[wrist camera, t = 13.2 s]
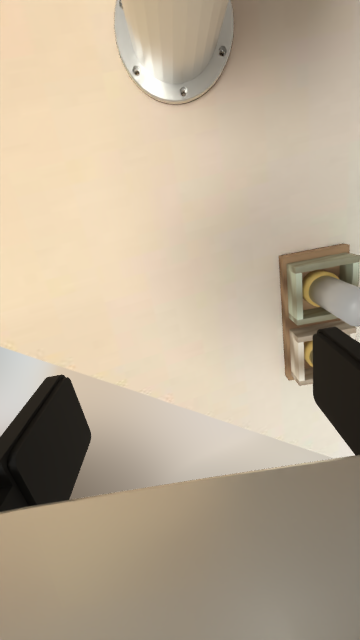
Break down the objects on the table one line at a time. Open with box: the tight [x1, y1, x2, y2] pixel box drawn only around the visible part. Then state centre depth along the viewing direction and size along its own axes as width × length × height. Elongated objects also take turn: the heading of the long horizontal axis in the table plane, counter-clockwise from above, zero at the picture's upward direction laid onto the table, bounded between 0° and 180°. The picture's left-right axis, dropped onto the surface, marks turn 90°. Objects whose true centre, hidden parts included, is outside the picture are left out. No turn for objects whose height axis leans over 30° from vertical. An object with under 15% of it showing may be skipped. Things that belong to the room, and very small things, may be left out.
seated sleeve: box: [302, 270, 360, 326], centre depth 34 cm, size 5×5×10 cm
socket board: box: [279, 244, 360, 386], centre depth 40 cm, size 20×9×4 cm, turn 11°
